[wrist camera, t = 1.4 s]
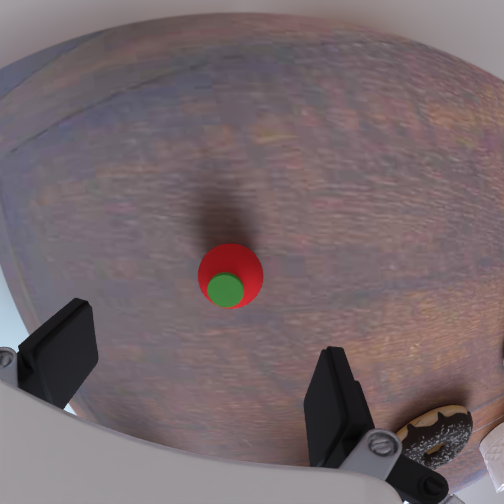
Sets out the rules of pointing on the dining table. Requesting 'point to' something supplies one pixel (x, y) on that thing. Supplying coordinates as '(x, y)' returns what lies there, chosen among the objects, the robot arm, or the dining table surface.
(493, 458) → the white cup
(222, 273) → the tomato
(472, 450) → the dining table surface
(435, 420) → the donut
